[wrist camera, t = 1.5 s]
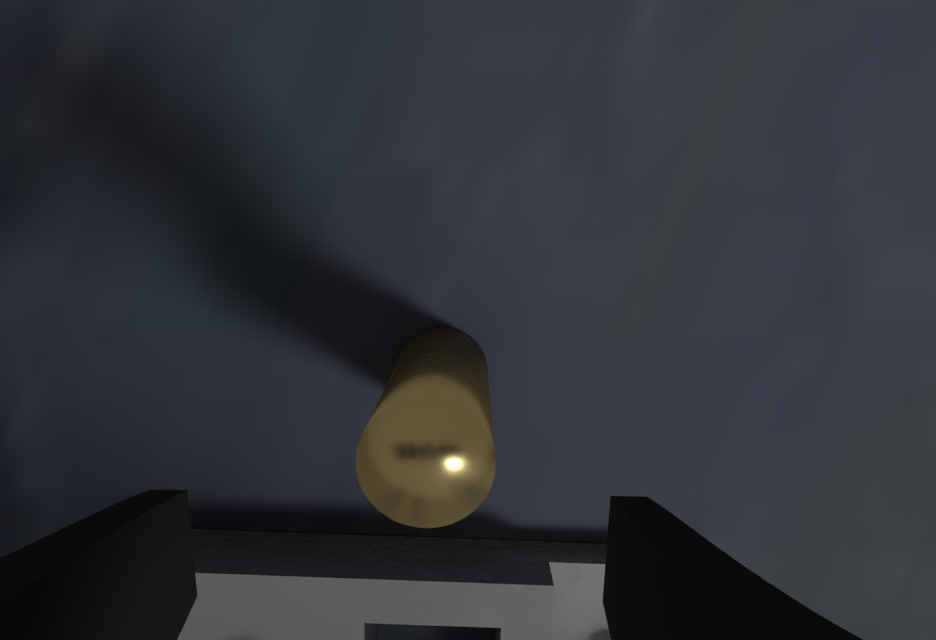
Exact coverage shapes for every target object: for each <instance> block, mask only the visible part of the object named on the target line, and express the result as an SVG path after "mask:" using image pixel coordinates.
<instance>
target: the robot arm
mask: <svg viewBox="0 0 936 640" xmlns="http://www.w3.org/2000/svg"><path fill="white" fill-rule="evenodd" d="M196 598H197V586H196V576H195V566H194V556H193V546H192V536H191V526H190V516H189V506H188V496H187V490H149V491H146V492H144V493H141V494H138V495H135V496H133V497H130V498H128V499H126V500H123V501H121V502H119V503H116V504H114V505H112V506H110V507H108V508H105V509H103V510H101V511H99V512H97V513H95V514H93V515H90V516H88V517H86V518H84V519H82V520H80V521H78V522H76V523H74V524H72V525H69V526H67V527H65V528H63V529H61V530H59V531H57V532H55V533H53V534H50V535H48V536H46V537H44V538H42V539H40V540H38V541H36V542H34V543H32V544H29V545H27V546H25V547H23V548H21V549H19V550H17V551H15V552H13V553H10V554H8V555H6V556H4V557H1V558H0V640H177V639H178V637H179V635H180V633H181V631H182V629H183V627H184V624H185V622H186V620H187V618H188V616H189V613H190V611H191V609H192V607H193V605H194V602H195V600H196ZM603 606H604V610H605V615H606V619H607V624H608V628H609V633H610V637H611V640H862V639H861V638H859V637H857V636H855V635H853V634H852V633H850V632H848V631H846V630H844V629H843V628H841V627H839V626H837V625H835V624H834V623H832V622H830V621H829V620H827V619H825V618H824V617H822V616H820V615H818V614H817V613H815V612H813V611H812V610H810V609H809V608H807V607H805V606H804V605H802V604H801V603H799V602H798V601H796V600H794V599H793V598H791V597H790V596H788V595H787V594H785V593H784V592H782V591H780V590H779V589H777V588H776V587H774V586H773V585H771V584H770V583H768V582H766V581H765V580H764V579H762V578H761V577H759V576H758V575H756V574H755V573H753V572H752V571H750V570H749V569H747V568H746V567H744V566H743V565H742V564H740V563H739V562H737V561H736V560H734V559H733V558H732V557H730V556H729V555H727V554H726V553H725V552H723V551H722V550H720V549H719V548H718V547H716V546H715V545H714V544H712V543H711V542H709V541H708V540H707V539H705V538H704V537H703V536H701V535H700V534H699V533H697V532H696V531H694V530H693V529H692V528H690V527H689V526H688V525H686V524H685V523H684V522H682V521H681V520H680V519H678V518H677V517H676V516H674V515H673V514H671V513H670V512H669V511H667V510H666V509H664V508H663V507H662V506H660V505H659V504H657V503H656V502H654V501H653V500H651V499H649V498H648V497H628V496H611V499H610V512H609V525H608V537H607V550H606V563H605V575H604V588H603Z"/></svg>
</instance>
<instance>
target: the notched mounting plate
mask: <svg viewBox="0 0 936 640" xmlns="http://www.w3.org/2000/svg"><path fill="white" fill-rule="evenodd" d="M191 536H192V546H193V556H194V566H195V576H196V586H197V598H196V600H195V602H194V605H193V607H192V609H191V611H190V613H189V616H188V618H187V620H186V622H185V624H184V627H183V629H182V631H181V633H180V635H179V637H178V639H177V640H377V624H403V625H431V626H459V627H487V628H495V640H611V637H610V633H609V628H608V624H607V619H606V615H605V610H604V606H603V588H604V575H605V563H606V550H607V544H603V543H575V542H547V541H520V540H492V539H464V538H436V537H408V536H380V535H352V534H324V533H296V532H268V531H241V530H213V529H191Z"/></svg>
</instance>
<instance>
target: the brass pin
mask: <svg viewBox="0 0 936 640" xmlns="http://www.w3.org/2000/svg"><path fill="white" fill-rule="evenodd" d="M356 471H357V475H358V480H359V482H360V485H361V488H362V490H363V491H364V493H365V495H366V496H367V498H368V499H369V501H370V502H371V503H372V504H373V505H374V506H375V507H376V508H377V509H378V510H379V511H380V512H381V513H383V514H384V515H386V516H387V517H389V518H390V519H392V520H394V521H396V522H398V523H401V524H404V525H407V526H412V527H418V528H436V527H443V526H446V525H450V524H453V523H455V522H458V521H460V520H461V519H463V518H465V517H467V516H468V515H469V514H471V513H472V512H473V511H474V510H475V509H476V508H478V507H479V506H480V504H481V503H482V502H483V501H484V499H485V498H486V496H487V494H488V493H489V491H490V488H491V486H492V483H493V479H494V475H495V450H494V439H493V427H492V415H491V404H490V392H489V381H488V369H487V362H486V358H485V355H484V353H483V351H482V349H481V348H480V346H479V345H478V343H477V342H476V341H475V340H474V339H473V338H472V337H470V336H469V335H467V334H466V333H464V332H462V331H460V330H457V329H454V328H449V327H436V328H431V329H427V330H425V331H422V332H420V333H419V334H417V335H416V336H414V337H413V338H412V339H411V340H410V341H409V342H408V343H407V345H406V346H405V347H404V349H403V351H402V353H401V355H400V357H399V359H398V361H397V363H396V365H395V368H394V370H393V372H392V374H391V376H390V378H389V380H388V382H387V384H386V386H385V388H384V391H383V393H382V395H381V397H380V399H379V401H378V403H377V405H376V407H375V409H374V411H373V414H372V416H371V418H370V420H369V422H368V424H367V426H366V428H365V430H364V432H363V435H362V437H361V439H360V442H359V445H358V449H357V453H356Z"/></svg>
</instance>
